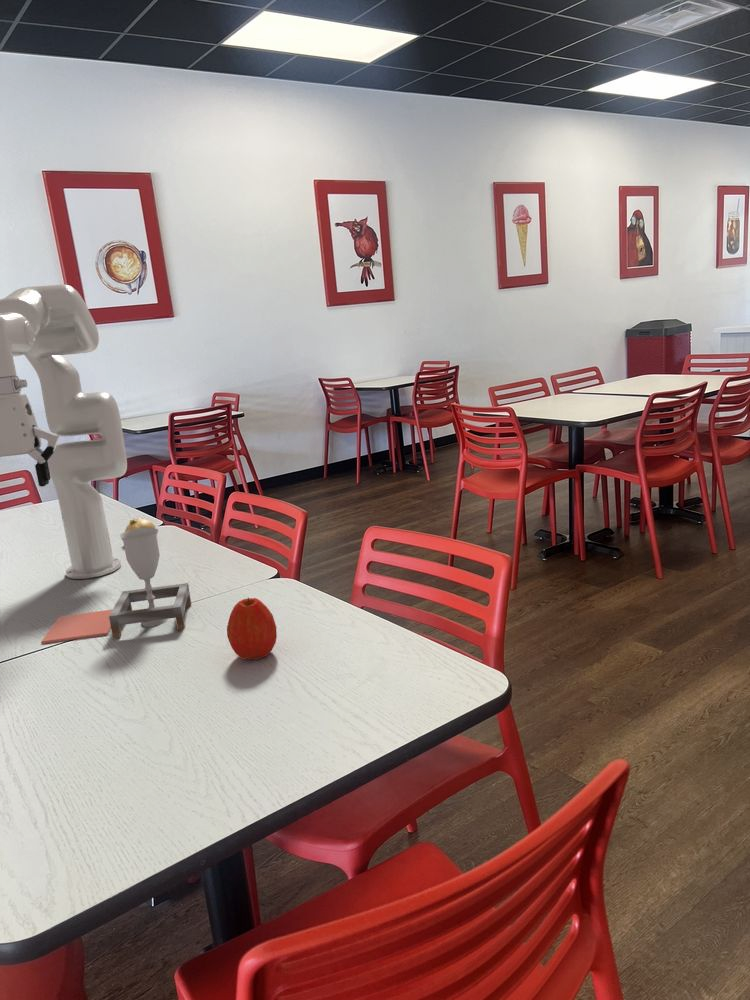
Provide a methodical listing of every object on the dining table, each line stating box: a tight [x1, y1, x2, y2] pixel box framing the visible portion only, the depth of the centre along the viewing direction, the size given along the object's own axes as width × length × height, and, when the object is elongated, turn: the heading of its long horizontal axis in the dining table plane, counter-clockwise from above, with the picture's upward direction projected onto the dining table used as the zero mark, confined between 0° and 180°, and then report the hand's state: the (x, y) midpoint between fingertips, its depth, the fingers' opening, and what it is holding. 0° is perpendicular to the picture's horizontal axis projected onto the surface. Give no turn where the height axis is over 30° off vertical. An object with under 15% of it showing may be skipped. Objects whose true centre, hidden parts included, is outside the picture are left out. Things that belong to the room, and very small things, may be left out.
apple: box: [226, 597, 278, 660], centre depth 119 cm, size 8×8×11 cm
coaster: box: [40, 608, 113, 645], centre depth 139 cm, size 12×12×1 cm
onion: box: [124, 517, 157, 532], centre depth 194 cm, size 8×8×7 cm
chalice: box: [119, 527, 168, 627], centre depth 137 cm, size 7×7×18 cm
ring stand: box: [109, 582, 192, 640], centre depth 139 cm, size 13×13×5 cm
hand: (15, 488), depth 123 cm, fingers open, 9 cm apart
